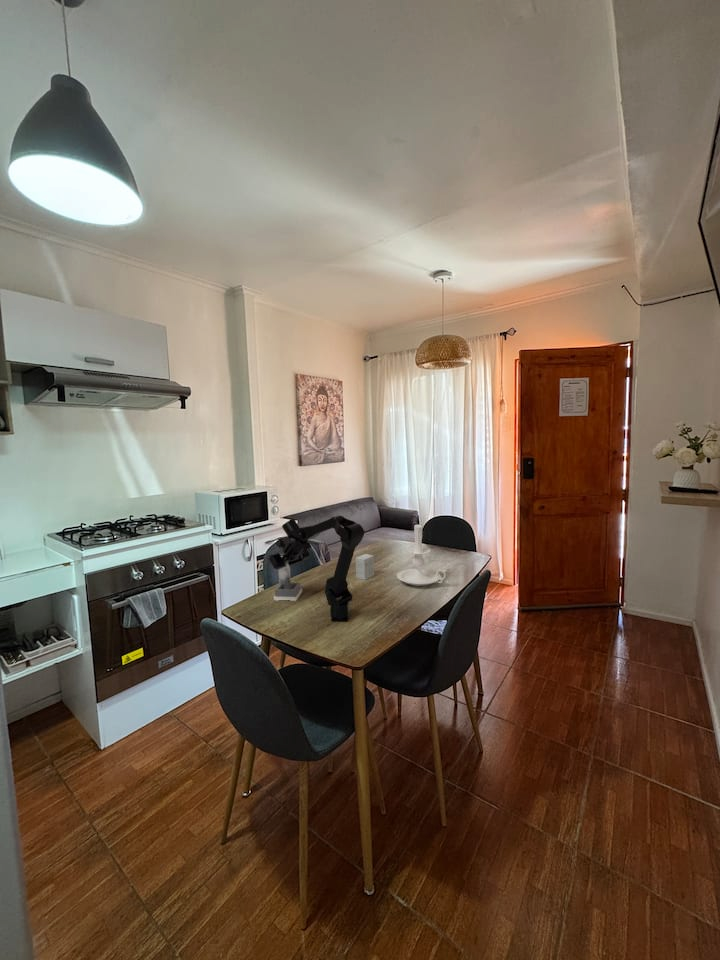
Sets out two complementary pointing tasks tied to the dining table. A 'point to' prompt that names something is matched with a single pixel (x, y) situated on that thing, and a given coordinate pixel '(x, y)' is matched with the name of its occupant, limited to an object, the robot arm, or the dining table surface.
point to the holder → (288, 591)
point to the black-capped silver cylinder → (284, 573)
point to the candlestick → (419, 565)
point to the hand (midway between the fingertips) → (282, 567)
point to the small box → (364, 566)
